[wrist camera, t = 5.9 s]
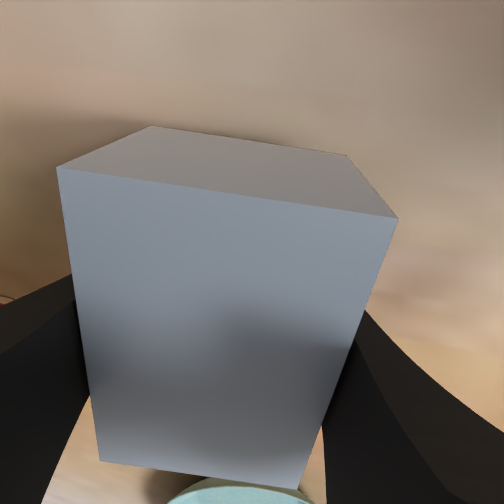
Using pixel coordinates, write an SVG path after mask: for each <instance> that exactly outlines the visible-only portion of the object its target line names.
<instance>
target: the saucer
mask: <svg viewBox="0 0 504 504" xmlns="http://www.w3.org/2000/svg"><path fill="white" fill-rule="evenodd" d="M167 504H315V503H314V502H312V501H311V500H310V499H309V498H308V497H307V496H305V495H304V494H303V493H302V492H300V491H299V490H296V489H289V488H282V487H275V486H268V485H261V484H254V483H248V482H241V481H234V480H227V479H220V478H213V477H209V478H206V479H204V480H201V481H199V482H197V483H195V484H193V485H191V486H190V487H188V488H186V489H185V490H183V491H182V492H180V493H179V494H178V495H176V496H175V497H174V498H173V499H171V500H170V501H169V502H168V503H167Z"/></svg>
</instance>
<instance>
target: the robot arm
mask: <svg viewBox="0 0 504 504" xmlns="http://www.w3.org/2000/svg"><path fill="white" fill-rule="evenodd" d="M89 396H90V391H89V384H88V378H87V371H86V364H85V358H84V351H83V344H82V338H81V331H80V324H79V318H78V311H77V304H76V298H75V291H74V284H73V278H72V274H70V275H68V276H66V277H64V278H62V279H60V280H58V281H56V282H54V283H52V284H49V285H47V286H45V287H43V288H41V289H39V290H37V291H34V292H32V293H30V294H28V295H26V296H23V297H21V298H19V299H16V300H14V301H11V302H9V303H6V304H4V305H1V306H0V504H41V502H42V500H43V497H44V495H45V492H46V490H47V488H48V485H49V483H50V480H51V478H52V476H53V473H54V471H55V469H56V466H57V464H58V462H59V460H60V457H61V455H62V453H63V450H64V448H65V446H66V444H67V441H68V439H69V437H70V435H71V433H72V430H73V428H74V426H75V424H76V422H77V420H78V418H79V415H80V413H81V411H82V409H83V407H84V405H85V403H86V401H87V399H88V397H89ZM322 433H323V442H324V459H325V476H326V499H327V504H504V433H503V432H502V431H500V430H499V429H497V428H496V427H495V426H493V425H492V424H490V423H489V422H488V421H486V420H485V419H483V418H482V417H481V416H479V415H478V414H476V413H475V412H474V411H472V410H471V409H470V408H469V407H467V406H466V405H465V404H463V403H462V402H461V401H459V400H458V399H457V398H456V397H454V396H453V395H452V394H450V393H449V392H448V391H447V390H445V389H444V388H443V387H442V386H441V385H439V384H438V383H437V382H436V381H435V380H434V379H432V378H431V377H430V376H429V375H428V374H427V373H426V372H424V371H423V370H422V369H421V368H420V367H419V366H418V365H417V364H415V363H414V362H413V361H412V360H411V359H410V358H409V357H408V356H407V355H406V354H405V353H404V352H403V351H402V350H401V349H400V348H399V347H398V346H397V345H396V344H395V343H394V342H393V341H392V340H391V339H390V338H389V336H388V335H387V334H386V333H385V332H384V331H383V330H382V329H381V328H380V327H379V326H378V324H377V323H376V322H375V321H374V320H373V319H372V318H371V316H370V315H369V314H368V313H367V312H366V310H364V312H363V315H362V318H361V320H360V323H359V326H358V328H357V331H356V334H355V336H354V339H353V342H352V344H351V347H350V350H349V352H348V355H347V358H346V360H345V363H344V366H343V368H342V371H341V374H340V376H339V379H338V382H337V384H336V387H335V390H334V392H333V395H332V398H331V400H330V403H329V406H328V408H327V411H326V414H325V416H324V419H323V422H322Z"/></svg>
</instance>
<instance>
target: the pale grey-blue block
mask: <svg viewBox="0 0 504 504" xmlns="http://www.w3.org/2000/svg"><path fill="white" fill-rule="evenodd" d="M56 171H57V178H58V184H59V191H60V198H61V204H62V211H63V218H64V224H65V231H66V238H67V244H68V251H69V258H70V264H71V271H72V278H73V284H74V291H75V298H76V304H77V311H78V318H79V324H80V331H81V338H82V344H83V351H84V358H85V364H86V371H87V378H88V384H89V391H90V398H91V404H92V411H93V418H94V424H95V431H96V437H97V444H98V451H99V457H100V461H103V462H110V463H117V464H124V465H131V466H138V467H145V468H152V469H158V470H165V471H172V472H179V473H186V474H193V475H200V476H206V477H213V478H220V479H227V480H234V481H241V482H248V483H254V484H261V485H268V486H275V487H282V488H289V489H296V490H297V488H298V486H299V483H300V480H301V478H302V475H303V472H304V470H305V467H306V464H307V462H308V459H309V456H310V454H311V451H312V448H313V446H314V443H315V440H316V438H317V435H318V432H319V430H320V427H321V424H322V422H323V419H324V416H325V414H326V411H327V408H328V406H329V403H330V400H331V398H332V395H333V392H334V390H335V387H336V384H337V382H338V379H339V376H340V374H341V371H342V368H343V366H344V363H345V360H346V358H347V355H348V352H349V350H350V347H351V344H352V342H353V339H354V336H355V334H356V331H357V328H358V326H359V323H360V320H361V318H362V315H363V312H364V310H365V307H366V304H367V302H368V299H369V296H370V294H371V291H372V288H373V286H374V283H375V281H376V278H377V275H378V273H379V270H380V267H381V265H382V262H383V259H384V257H385V254H386V251H387V249H388V246H389V243H390V241H391V238H392V235H393V233H394V230H395V227H396V225H397V222H398V217H397V216H396V215H395V214H394V212H393V211H392V210H391V209H390V208H389V206H388V205H387V204H386V203H385V201H384V200H383V199H382V198H381V197H380V195H379V194H378V193H377V192H376V191H375V189H374V188H373V187H372V186H371V184H370V183H369V182H368V181H367V180H366V178H365V177H364V176H363V175H362V173H361V172H360V171H359V170H358V169H357V167H356V166H355V165H354V164H353V162H352V161H351V160H350V159H349V158H348V156H347V155H342V154H335V153H329V152H322V151H316V150H309V149H303V148H296V147H289V146H283V145H276V144H270V143H263V142H256V141H250V140H243V139H237V138H230V137H224V136H217V135H210V134H204V133H197V132H191V131H184V130H178V129H171V128H164V127H158V126H149V127H147V128H144V129H142V130H140V131H137V132H135V133H133V134H131V135H128V136H126V137H124V138H121V139H119V140H117V141H114V142H112V143H110V144H108V145H105V146H103V147H101V148H98V149H96V150H94V151H92V152H89V153H87V154H85V155H82V156H80V157H78V158H75V159H73V160H71V161H69V162H66V163H64V164H62V165H59V166H57V167H56Z"/></svg>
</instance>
